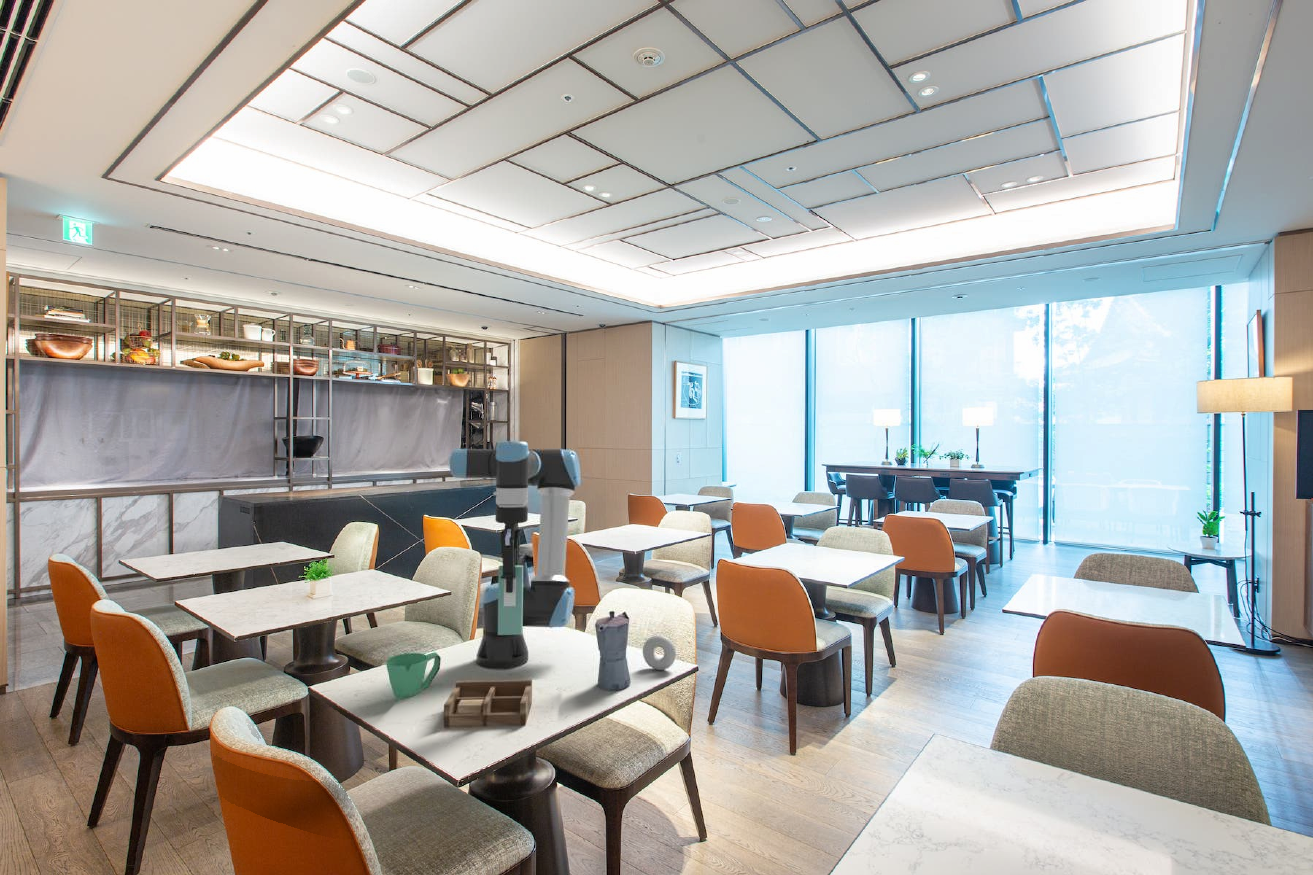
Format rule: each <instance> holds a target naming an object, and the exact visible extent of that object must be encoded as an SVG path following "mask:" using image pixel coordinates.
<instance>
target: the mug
mask: <svg viewBox="0 0 1313 875" xmlns="http://www.w3.org/2000/svg"><path fill="white" fill-rule="evenodd" d="M441 658H442V657H441V656H440V655H439V654H438V653H437V652H431V653H428V654H425V653H420V652H409V653H401V654H397V655H393V656H391V657H389V658H388V659H386V663H385V664H386V670H387V674H388V679H389V680H388V681H389V683H390V686H391V690H392V693H393V694H394V697H395V699H396V702H397V701H399V700H400V699H401V698H409V697H410V698H411V697H413V696H416V695H418V694H420V691H422V690H424V689H425V688H427V687H428V686H429V685H431V683H432V682H433V681H434V680H435V677H436V676H437V674H438V672H439V671H440V667H441ZM431 660H433V665H432V668H431V669H430V671H429V673H428V675H427V677H426V678H425V675H426V670H427V665H428V662H429V661H431ZM424 678H425V680H424Z"/></svg>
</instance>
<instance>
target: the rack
mask: <svg viewBox="0 0 1313 875" xmlns="http://www.w3.org/2000/svg"><path fill="white" fill-rule="evenodd" d="M461 700H484V702H483V713H464V714H455V713H456V711H457V709H458V704H459V702H460V701H461ZM532 701H533V679H530V678H529V679H490V680H489V679H488V680H485V679H484V680H483V679H482V680H481V679H479V680H477V679H476V680H456V681H455V687H454V689H453V690H452V692H451V693H450V694H449V696H448V697H447V699H446V701H445V703H444V704H443V728H444V729H447V728H479V727H480V728H483V727H484V728H485V727H487V728H488V727H489V728H490V727H519V726H520V727H521V726H522V727H526V724H527V722H528V718H529V715H530V713H531V712H530V711H531V709H532V705H533V702H532Z"/></svg>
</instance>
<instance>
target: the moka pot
mask: <svg viewBox="0 0 1313 875" xmlns="http://www.w3.org/2000/svg"><path fill="white" fill-rule="evenodd" d="M608 614H609V616H606V617H602V618H599V619H597V620H596V621H595V623H594V627H595V633H596V634H595V635H596V639H597V640H596V641H597V648H598V651H599V664H598V666H599V667H598V676H597V677H598V678H597V684H598V685H597V686H598V688H600V689H603V690H605V691H617V690H619V689H620V690H622V689H623V690H624V689H625V688H628V687H629V686H630V684H631V676H630V670H629V665H628V658H627V647H628V638H629V627H630V617H629V616H628V614H627V612H626V611H624V612H622V613H620V614H618V615H617V616H615V611H614V610H611V611H609V612H608ZM620 690H619V691H620Z"/></svg>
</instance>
